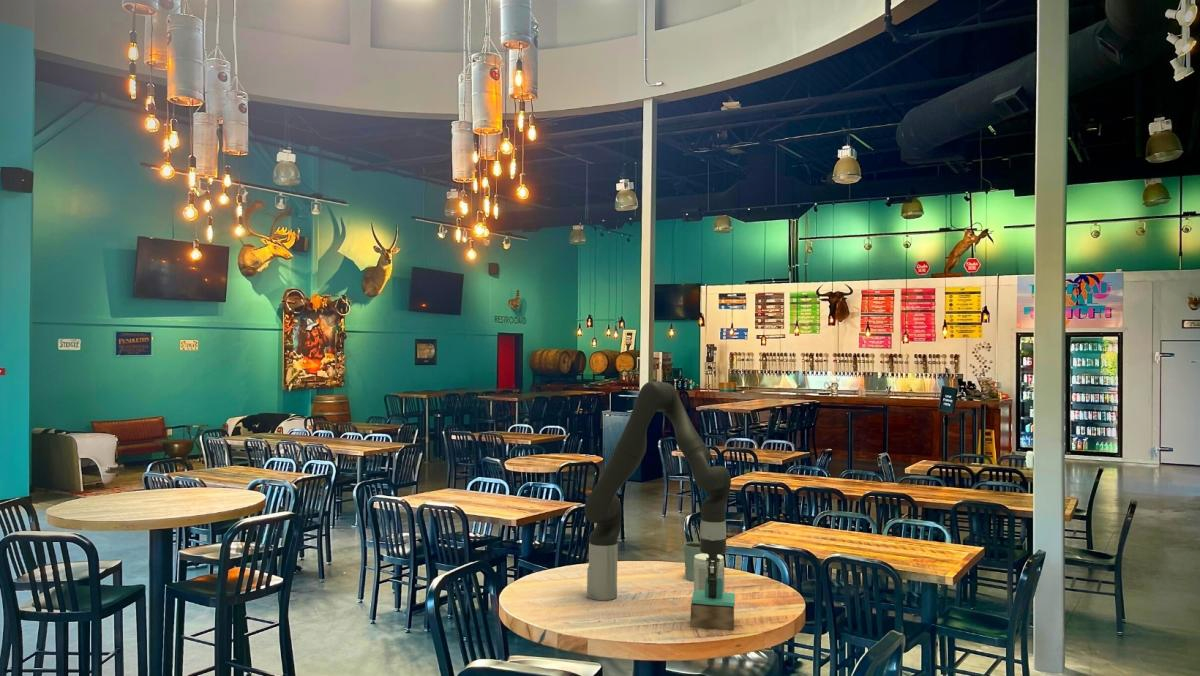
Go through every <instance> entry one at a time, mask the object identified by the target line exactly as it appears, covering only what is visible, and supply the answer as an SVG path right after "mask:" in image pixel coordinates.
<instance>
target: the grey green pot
mask: <svg viewBox="0 0 1200 676" xmlns="http://www.w3.org/2000/svg"><path fill="white" fill-rule="evenodd" d="M697 554H704V553H702V552H701V551H700V541H688V542H684V543H683V556H684V567H685V569H684V576H685V580H686V579H687V581H688V580H689V582H692V581H694V556H695V555H697Z"/></svg>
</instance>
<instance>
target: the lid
mask: <svg viewBox="0 0 1200 676" xmlns="http://www.w3.org/2000/svg"><path fill="white" fill-rule="evenodd" d="M710 580H715V579H714V578H710ZM707 581H708V577H706V578H705V591H699V590H694V589H693V591H692V592H693V593H692V596H691V602H692V603H696V604H697V605H710V606H726V607H729V606H733V607H734V608H735V601H736V592H735V593H734V592H725V591H724V592H723V578H717V585H716V598H709V585H708V583H707Z"/></svg>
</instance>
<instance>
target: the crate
mask: <svg viewBox="0 0 1200 676" xmlns="http://www.w3.org/2000/svg"><path fill="white" fill-rule="evenodd" d="M734 623H735V606H734V607H733V606H729V607H726V606H710V605H697V604H696V603H692V601H691V603H690V628H692V629H693V628H694V629H695V628H696V629H709V630H721V631H723V630H725V631H727V630H728V631H734V625H735V624H734Z"/></svg>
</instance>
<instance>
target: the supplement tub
mask: <svg viewBox="0 0 1200 676" xmlns="http://www.w3.org/2000/svg"><path fill="white" fill-rule="evenodd" d="M717 557H718V558H720V566H719V576H718V577H717V578H723V592H725V558H724V556H723V554H722V555H717ZM706 558H709V555H708V554H697V555H695V556H694V582H693V591H694V590H699V591H705V578H706V577H708V576H707V566H706Z"/></svg>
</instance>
